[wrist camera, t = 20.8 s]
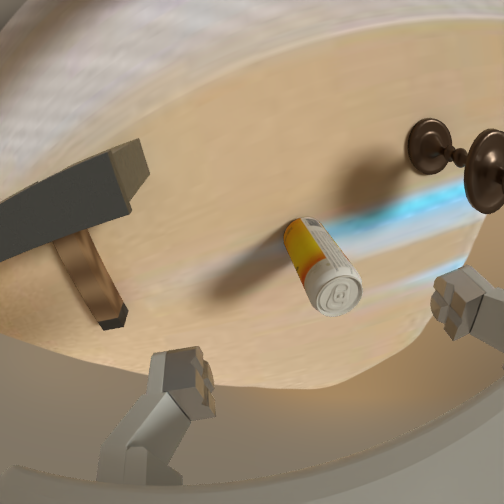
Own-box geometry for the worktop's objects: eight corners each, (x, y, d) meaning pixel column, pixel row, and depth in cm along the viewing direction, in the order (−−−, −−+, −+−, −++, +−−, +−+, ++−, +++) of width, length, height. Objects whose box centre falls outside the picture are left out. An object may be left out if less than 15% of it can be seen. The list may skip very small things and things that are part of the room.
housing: (-9, 203, 33) (-56, 241, 22) (141, 133, 33) (107, 151, 22) (5, 235, 36) (-37, 278, 25) (154, 176, 36) (129, 214, 25)
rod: (55, 210, 36) (43, 221, 32) (75, 201, 36) (64, 212, 32) (109, 314, 46) (103, 330, 42) (128, 310, 46) (123, 326, 42)
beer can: (279, 252, 44) (307, 321, 31) (285, 213, 41) (319, 273, 28) (318, 252, 45) (357, 317, 32) (325, 215, 42) (372, 272, 29)
